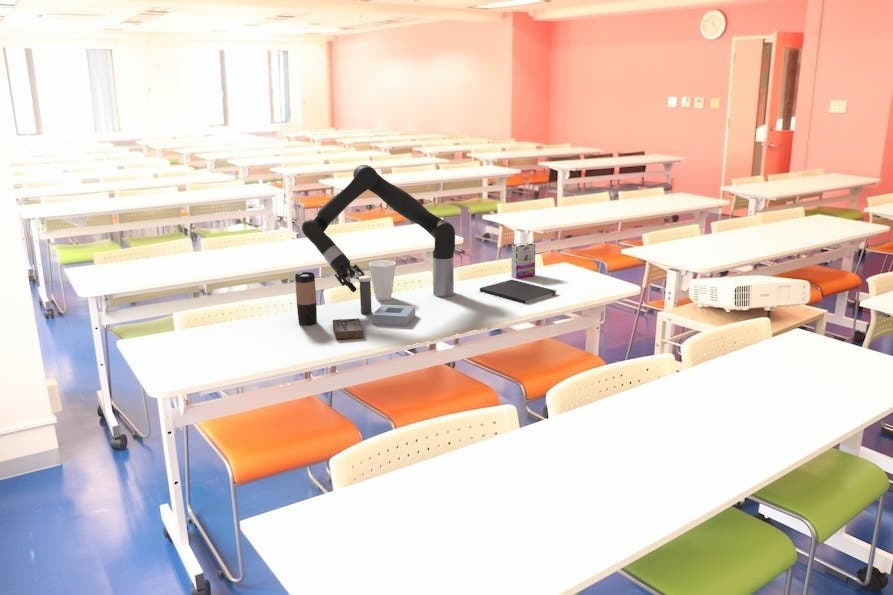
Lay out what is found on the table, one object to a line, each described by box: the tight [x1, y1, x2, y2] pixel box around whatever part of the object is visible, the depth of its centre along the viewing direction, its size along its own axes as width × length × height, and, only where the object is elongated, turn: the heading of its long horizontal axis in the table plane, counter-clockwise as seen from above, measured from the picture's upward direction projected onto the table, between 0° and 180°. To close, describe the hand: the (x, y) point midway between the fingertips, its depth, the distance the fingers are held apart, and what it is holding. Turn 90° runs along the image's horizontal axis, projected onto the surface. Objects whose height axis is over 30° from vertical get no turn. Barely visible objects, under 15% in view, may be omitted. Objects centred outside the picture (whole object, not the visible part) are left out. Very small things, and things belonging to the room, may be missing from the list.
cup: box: [368, 259, 396, 301], centre depth 324 cm, size 12×12×16 cm
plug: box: [358, 275, 373, 315], centre depth 304 cm, size 5×5×15 cm
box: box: [332, 318, 365, 340], centre depth 282 cm, size 11×17×3 cm, turn 12°
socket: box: [371, 303, 416, 327], centre depth 296 cm, size 14×14×4 cm
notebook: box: [479, 279, 557, 305], centre depth 333 cm, size 22×2×28 cm
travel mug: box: [294, 271, 318, 327], centre depth 291 cm, size 8×8×20 cm
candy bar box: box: [511, 241, 536, 280], centre depth 359 cm, size 11×5×16 cm, turn 119°
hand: (360, 288), depth 304 cm, fingers open, 8 cm apart
